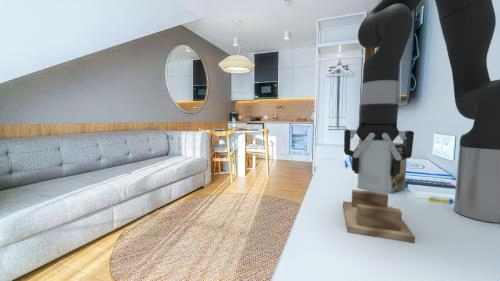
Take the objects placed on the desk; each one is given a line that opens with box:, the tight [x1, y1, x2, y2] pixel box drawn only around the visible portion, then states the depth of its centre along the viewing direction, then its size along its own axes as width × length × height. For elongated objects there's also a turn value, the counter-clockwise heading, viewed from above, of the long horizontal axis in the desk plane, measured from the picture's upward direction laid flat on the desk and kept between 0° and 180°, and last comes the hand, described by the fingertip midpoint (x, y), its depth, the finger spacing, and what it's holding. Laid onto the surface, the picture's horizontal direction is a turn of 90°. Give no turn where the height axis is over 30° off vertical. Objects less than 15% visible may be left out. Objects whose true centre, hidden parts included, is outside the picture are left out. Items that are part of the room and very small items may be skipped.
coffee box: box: [388, 142, 408, 194], centre depth 76 cm, size 9×6×16 cm
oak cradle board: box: [342, 189, 416, 244], centre depth 52 cm, size 12×16×5 cm
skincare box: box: [357, 138, 394, 195], centre depth 51 cm, size 6×4×12 cm
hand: (374, 174), depth 52 cm, fingers closed on skincare box, 7 cm apart
